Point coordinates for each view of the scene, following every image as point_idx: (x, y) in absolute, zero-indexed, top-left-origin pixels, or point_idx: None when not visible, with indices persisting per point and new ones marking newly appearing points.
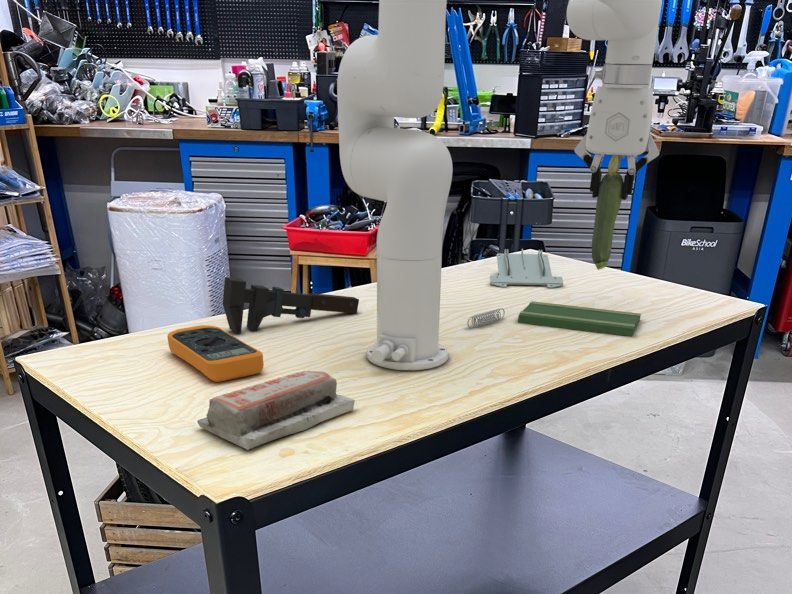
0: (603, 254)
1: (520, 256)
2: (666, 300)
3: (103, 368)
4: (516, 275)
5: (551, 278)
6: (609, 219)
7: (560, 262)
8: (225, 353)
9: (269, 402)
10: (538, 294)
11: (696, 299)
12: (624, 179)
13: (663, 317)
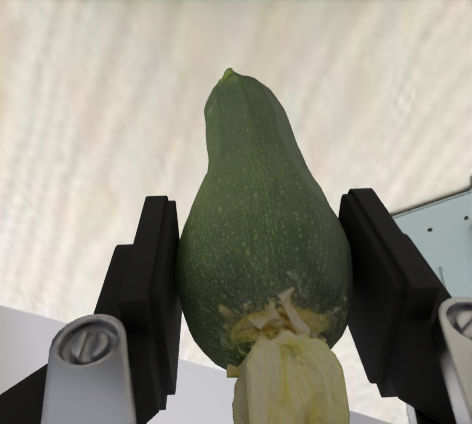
0: (226, 82)
1: None
2: (87, 226)
3: None
4: (455, 233)
5: None
6: (229, 147)
7: (356, 390)
8: None
9: None
10: (388, 147)
11: (32, 260)
12: (159, 277)
13: (38, 69)
